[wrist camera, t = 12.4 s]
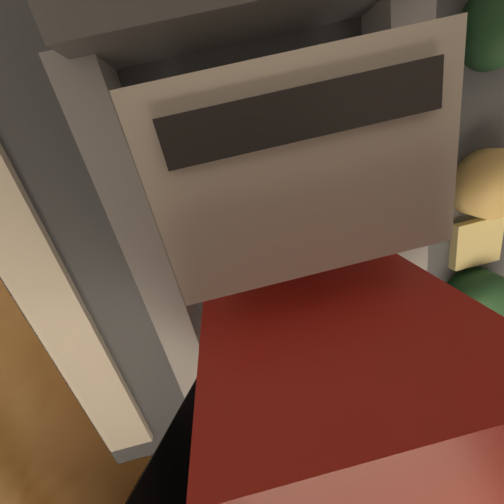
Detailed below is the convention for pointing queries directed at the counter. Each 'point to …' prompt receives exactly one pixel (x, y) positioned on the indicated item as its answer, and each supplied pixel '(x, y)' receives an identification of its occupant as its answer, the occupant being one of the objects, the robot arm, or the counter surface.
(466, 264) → the breaker panel
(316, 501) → the cap
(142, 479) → the robot arm
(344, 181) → the panel
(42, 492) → the counter surface
